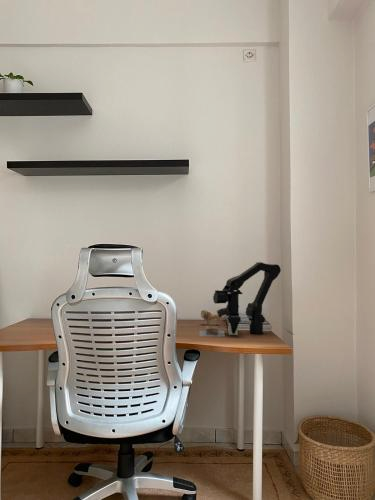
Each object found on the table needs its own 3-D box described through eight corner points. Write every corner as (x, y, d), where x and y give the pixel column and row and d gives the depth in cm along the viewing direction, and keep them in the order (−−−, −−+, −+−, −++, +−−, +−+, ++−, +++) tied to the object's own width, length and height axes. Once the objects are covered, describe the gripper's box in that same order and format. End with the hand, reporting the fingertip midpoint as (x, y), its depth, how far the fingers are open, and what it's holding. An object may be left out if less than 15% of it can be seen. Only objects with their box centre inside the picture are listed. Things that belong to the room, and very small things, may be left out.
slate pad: (223, 331, 208) (223, 330, 208) (225, 337, 194) (225, 336, 194) (199, 331, 208) (199, 330, 208) (199, 336, 194) (199, 336, 194)
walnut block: (217, 332, 204) (217, 326, 204) (217, 334, 198) (217, 328, 198) (206, 332, 204) (206, 326, 204) (206, 334, 198) (206, 328, 198)
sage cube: (236, 334, 203) (236, 325, 203) (237, 335, 198) (237, 327, 199) (228, 333, 203) (228, 325, 203) (228, 335, 199) (229, 327, 199)
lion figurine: (200, 325, 226) (200, 310, 227) (201, 324, 232) (201, 309, 232) (225, 326, 225) (225, 311, 225) (225, 324, 230) (225, 309, 230)
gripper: (217, 300, 211) (216, 329, 210) (218, 305, 192) (218, 336, 192) (237, 300, 210) (237, 329, 210) (240, 305, 192) (240, 336, 191)
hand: (233, 332), depth 201 cm, fingers open, 5 cm apart
